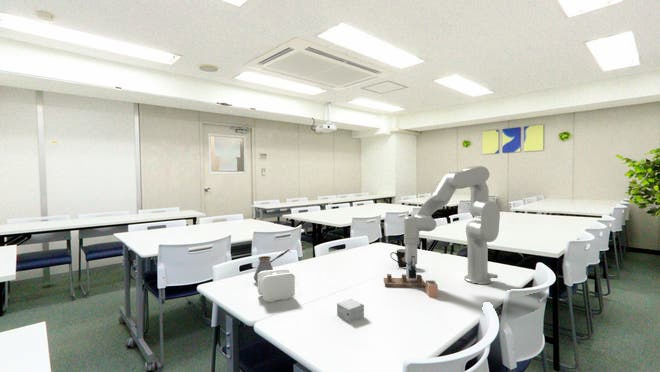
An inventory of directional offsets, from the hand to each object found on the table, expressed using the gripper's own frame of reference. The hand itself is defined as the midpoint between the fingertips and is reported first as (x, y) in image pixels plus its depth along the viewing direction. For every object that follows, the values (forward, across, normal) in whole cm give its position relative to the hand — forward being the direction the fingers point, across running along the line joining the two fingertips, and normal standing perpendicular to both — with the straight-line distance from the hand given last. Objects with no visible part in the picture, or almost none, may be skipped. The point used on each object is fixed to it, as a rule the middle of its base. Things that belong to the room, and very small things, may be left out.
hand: (411, 275), depth 158 cm
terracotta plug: (+5, +14, +7) cm, 16 cm away
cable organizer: (+5, +22, -64) cm, 68 cm away
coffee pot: (+5, -2, -72) cm, 73 cm away
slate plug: (+1, 0, 0) cm, 1 cm away
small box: (+5, +39, -30) cm, 50 cm away
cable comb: (+5, 0, -4) cm, 6 cm away
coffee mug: (+5, -33, 0) cm, 33 cm away
